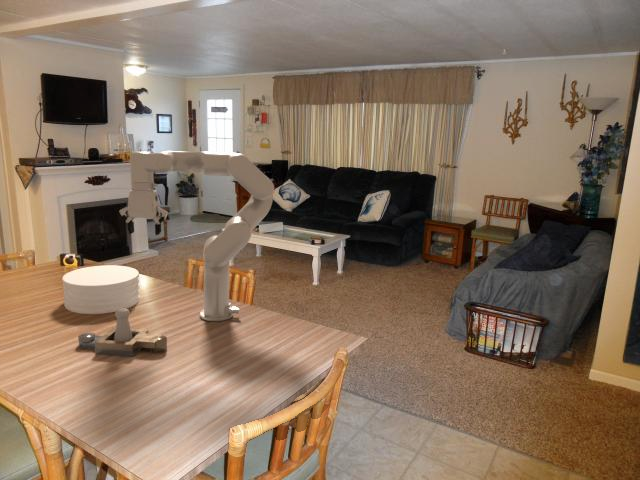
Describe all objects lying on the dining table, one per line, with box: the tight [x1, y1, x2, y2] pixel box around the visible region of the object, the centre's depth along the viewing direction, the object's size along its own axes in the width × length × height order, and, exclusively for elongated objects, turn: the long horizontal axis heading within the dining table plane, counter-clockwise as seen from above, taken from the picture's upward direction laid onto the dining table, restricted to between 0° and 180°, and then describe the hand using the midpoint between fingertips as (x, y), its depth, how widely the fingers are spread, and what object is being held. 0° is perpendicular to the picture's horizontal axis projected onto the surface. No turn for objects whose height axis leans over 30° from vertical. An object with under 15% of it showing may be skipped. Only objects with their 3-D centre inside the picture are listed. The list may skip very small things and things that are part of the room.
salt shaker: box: [114, 308, 133, 342], centre depth 153 cm, size 6×6×13 cm
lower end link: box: [77, 332, 143, 358], centre depth 154 cm, size 20×12×3 cm, turn 86°
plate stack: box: [62, 264, 141, 315], centre depth 192 cm, size 28×28×12 cm
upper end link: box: [95, 326, 168, 354], centre depth 153 cm, size 20×12×4 cm, turn 86°
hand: (144, 233), depth 172 cm, fingers open, 9 cm apart
